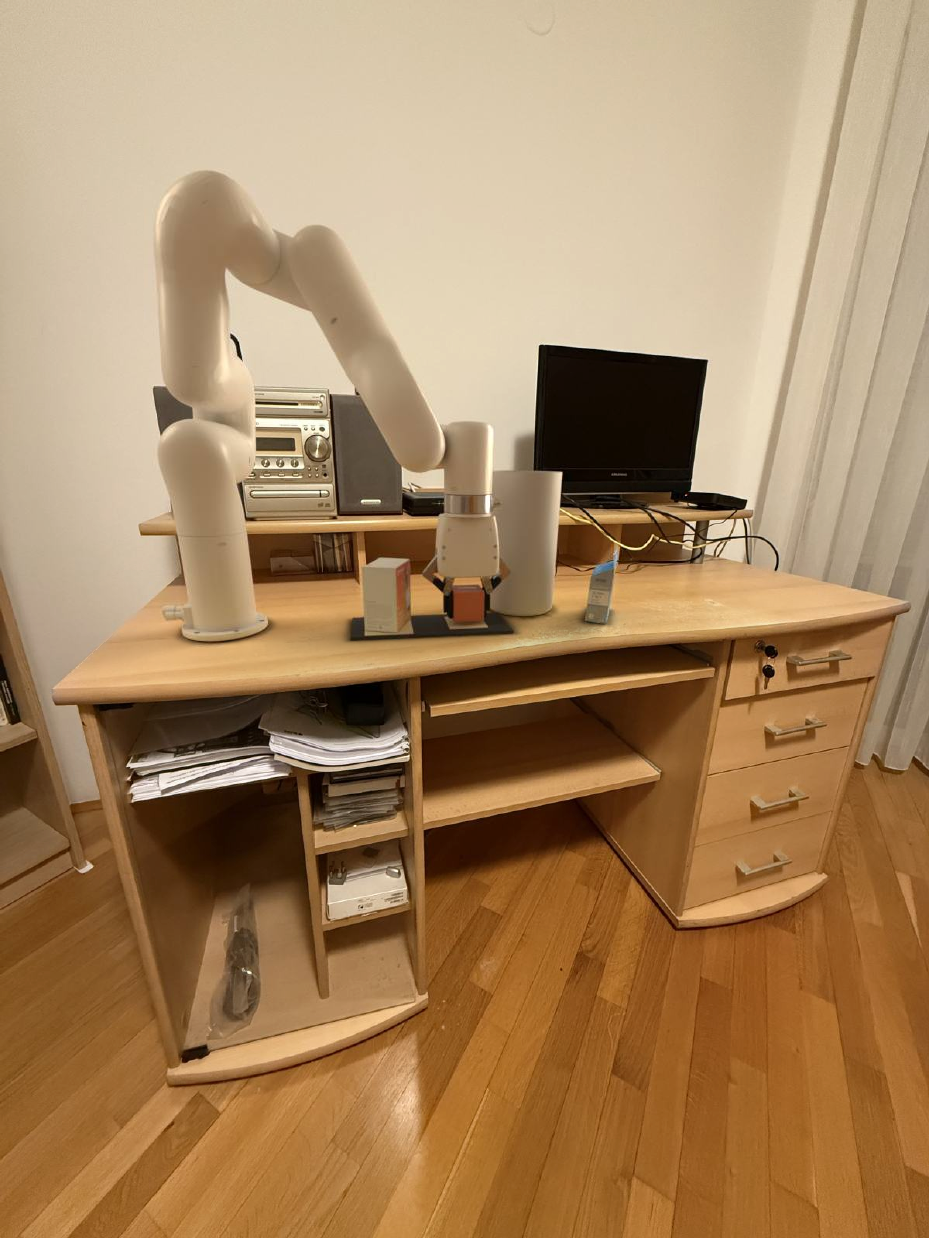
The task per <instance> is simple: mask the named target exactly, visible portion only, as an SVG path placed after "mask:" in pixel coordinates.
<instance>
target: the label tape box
mask: <svg viewBox="0 0 929 1238" xmlns="http://www.w3.org/2000/svg"><path fill="white" fill-rule="evenodd" d="M618 551H619V549H618V546H616V549H615V551H614V553H613V554H612V557H613V558H612V560H611V561H608V562H605V563H601V564H598V565H595V566H594V569H593V572H592V574H591V576H590V581H589V587H588V594H587V595H588V596H587V603H586V609H585V610H586V611H585V617H584V618H585V619H584V620H585V621H586V622H591V623H596V624H603V625H606V624H607V623H608V618H609V614H610V610H611V605H612V604H611V603H612V602H611V601H612V596H613V590H614V583H615V574H616V568H617V564H618Z"/></svg>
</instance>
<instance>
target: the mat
mask: <svg viewBox="0 0 929 1238" xmlns="http://www.w3.org/2000/svg"><path fill="white" fill-rule="evenodd" d="M502 634H503V635H505V634H514V629H513V628H512V627H511V626H510V624H509V623H508V622H507V620H505V618H504V617H503V616H502V614H501V613H499V612H495V611H493V612H487V617H484V621H469V622H454V621H453V619H449V618H448V615H447V613H444V614H442V613H441V614H415V615H414V614H413V615H411V619H410V620H409V621H408V622H407V623H406V624H405V625H404V626H403V627H402V628H401V629H400V630H399V632H398V633H393V632H378V631H365V623H364V616H363V617H361V616H360V617H352V622H351V628H350V636H349V640H350V641H366V640H367V641H368V640H391V639H412V638H434V637H435V638H436V637H437V638H438V637H460V636H478V635H479V636H480V635H502Z"/></svg>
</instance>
